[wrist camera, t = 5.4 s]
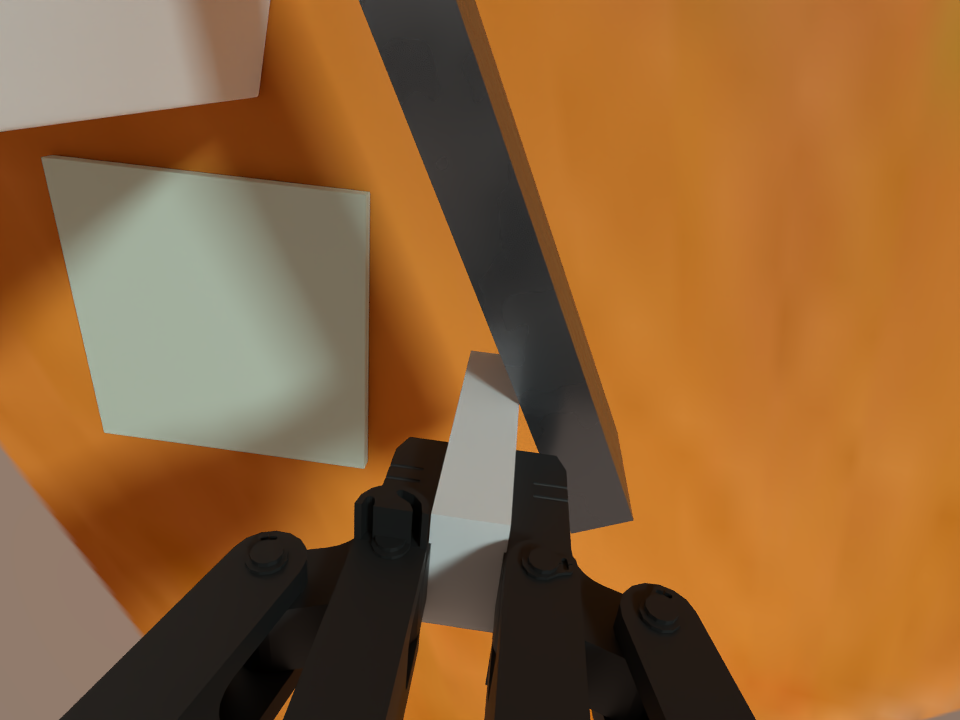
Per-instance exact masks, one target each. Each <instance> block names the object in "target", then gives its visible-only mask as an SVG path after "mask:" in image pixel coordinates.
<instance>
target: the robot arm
mask: <svg viewBox="0 0 960 720" xmlns="http://www.w3.org/2000/svg"><path fill="white" fill-rule="evenodd" d="M518 410H519V401H518V399H517V396H516V394H515V391H514V389H513V386H512V384H511V381H510V379H509V376H508V374H507V371H506V369H505V366H504V364H503V361H502V358H501V356H500V355H499V354H492V353H485V352H477V351H471V353H470V357H469V361H468V365H467V370H466V374H465V378H464V382H463V386H462V390H461V394H460V398H459V402H458V406H457V410H456V415H455V419H454V423H453V427H452V431H451V435H450V439H449V442H443V441H436V440H428V439H421V438H414V437H409V438H408V439H407V440H406V441H405V442H404V443H402V444H401V445H400V446H399V447H398V448H397V449H396V451H395V454H394V456H393V459H392V462H391V466H390V467H389V470H388V472H387V475H386V478H385V480H384V483H383V485H382V486H378V487H374V488H371V489H369V490H368V491H366V492H364V493H363V494H361V495H360V497H359V498H358V499H357V501H356V502H355V510H354V539H352V540H351V541H349V542H346V543H344V544H341V545H338V546H333V547H328V548H319V549H310V550H307V549H306V547H305V545H304V544H303V542H302V541H301V539H299V538H297V537H296V536H294V535H292V534H290V533H285V532H280V531H271V532H261V533H258V534H256V535H253V536H250V537H248V538H246V539H244V540H243V541H242V542H240V543H239V544H237V545H236V546H235V547H234V548H233V549H232V550H231V551H230V552H229V553H228V554H227V555H226V556H225V557H224V558H223V559H222V560H221V561H220V562H219V563H218V564H216V565H215V566H214V567H213V568H212V569H211V570H210V571H209V572H208V573H207V574H206V575H205V576H204V577H203V578H202V579H201V580H200V581H199V582H198V583H197V584H196V585H195V586H194V587H193V588H192V589H191V590H190V591H189V592H188V593H187V594H186V595H185V596H184V597H183V598H182V599H181V600H180V601H179V602H178V603H177V604H176V605H175V606H174V607H173V608H172V609H171V610H170V611H169V612H168V613H167V614H166V615H165V616H164V617H163V618H162V619H161V620H160V621H159V622H158V623H157V624H156V625H155V626H154V627H153V628H152V629H151V630H150V631H149V632H148V633H147V634H146V635H145V636H144V637H143V638H142V639H141V640H140V641H138V642H137V644H135V646H133V647H132V648H131V649H130V650H129V651H128V652H127V653H126V654H125V655H124V656H123V657H122V658H121V659H120V660H119V661H118V662H117V663H116V664H115V665H114V666H113V667H112V668H111V669H110V670H109V671H108V672H107V673H106V674H105V675H104V676H103V677H102V678H101V679H100V680H99V681H98V682H97V683H96V684H95V685H94V686H93V687H92V688H91V689H90V690H89V691H88V692H87V693H86V694H85V695H84V696H83V697H82V698H81V699H80V700H79V701H78V702H77V703H76V704H75V705H74V706H73V707H72V708H71V709H70V710H69V711H68V712H67V713H66V714H65V715H63V717H62V718H60V719H59V720H274V718H275V717H276V715H277V714H278V713H279V711H280V710H281V708H282V707H283V705H284V704H285V702H286V701H287V699H288V698H289V696H290V695H291V693H292V692H293V690H294V689H295V690H294V693H293V695H292V698H291V701H290V703H289V706H288V708H287V711H286V713H285V716H284V718H283V720H403V718H404V713H405V708H406V704H407V699H408V694H409V689H410V685H411V680H412V675H413V671H414V666H415V661H416V657H417V652H418V646H419V634H420V627H421V622H426V623H433V624H440V625H446V626H453V627H459V628H465V629H472V630H479V631H485V632H492V633H493V638H492V640H493V641H492V647H491V653H490V659H489V666H488V672H487V678H486V684H485V685H487V695H486V707H485V719H484V720H590V709H592V715H593V719H594V720H756V719H755V717H754V715H753V714H752V712H751V710H750V708H749V706H748V705H747V703H746V701H745V699H744V697H743V696H742V694H741V692H740V690H739V688H738V687H737V685H736V683H735V681H734V679H733V678H732V676H731V674H730V672H729V670H728V669H727V667H726V665H725V663H724V661H723V660H722V658H721V656H720V654H719V652H718V651H717V649H716V647H715V645H714V643H713V642H712V640H711V638H710V636H709V634H708V633H707V631H706V629H705V627H704V625H703V624H702V622H701V620H700V618H699V616H698V615H697V613H696V611H695V610H694V609H693V607H692V606H691V605H690V604H689V602H688V601H687V600H686V599H684V598H683V597H682V596H680V595H679V594H678V593H676V592H675V591H673V590H671V589H668V588H666V587H663V586H661V585H657V584H648V583H643V584H638V585H634V586H631V587H630V588H629V589H628V590H627V591H625V592H624V593H623V594H622V593H619V592H617V591H614V590H612V589H610V588H607V587H605V586H603V585H601V584H599V583H597V582H595V581H593V580H592V579H591V578H589V577H588V576H587V575H585V574H584V573H583V572H582V570H581V569H580V568H579V567H578V565H577V562H576V560H575V559H574V557H573V556H572V551H571V539H570V522H569V505H568V490H567V471H566V469H565V468H564V466H563V465H562V463H561V462H560V460H559V459H558V457H557V456H554V455H547V454H540V453H533V452H525V451H518V450H516V440H517V425H518ZM422 617H423V618H422ZM589 708H590V709H589Z"/></svg>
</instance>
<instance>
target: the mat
mask: <svg viewBox="0 0 960 720" xmlns="http://www.w3.org/2000/svg"><path fill="white" fill-rule="evenodd" d="M41 159H42V164H43V168H44V172H45V177H46V181H47V185H48V190H49V194H50V198H51V203H52V207H53V212H54V216H55V220H56V225H57V229H58V233H59V238H60V242H61V246H62V251H63V255H64V259H65V264H66V268H67V273H68V277H69V281H70V286H71V290H72V294H73V299H74V303H75V307H76V312H77V316H78V320H79V325H80V329H81V333H82V338H83V342H84V347H85V351H86V355H87V360H88V364H89V368H90V373H91V377H92V381H93V386H94V390H95V394H96V399H97V403H98V408H99V412H100V416H101V421H102V425H103V429H104V433H111V434H119V435H126V436H133V437H140V438H147V439H154V440H162V441H169V442H176V443H183V444H190V445H197V446H205V447H212V448H219V449H226V450H233V451H241V452H248V453H255V454H262V455H269V456H276V457H284V458H291V459H298V460H305V461H312V462H320V463H327V464H334V465H341V466H348V467H355V468H363V469H364V468H365V466H366V464H367V462H368V365H369V252H370V192H366V191H358V190H349V189H340V188H332V187H323V186H315V185H306V184H297V183H289V182H280V181H272V180H263V179H254V178H246V177H237V176H229V175H220V174H211V173H203V172H194V171H186V170H177V169H168V168H160V167H151V166H143V165H134V164H125V163H117V162H108V161H99V160H91V159H82V158H74V157H65V156H56V155H50V156H45V157H41Z"/></svg>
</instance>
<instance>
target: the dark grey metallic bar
mask: <svg viewBox="0 0 960 720" xmlns="http://www.w3.org/2000/svg"><path fill="white" fill-rule="evenodd" d="M359 2H360V5H361V7H362V10H363V12H364V15H365V17H366V20H367V22H368V25H369V27H370V30H371V32H372V35H373V37H374V40H375V42H376V45H377V47H378V50H379V52H380V55H381V57H382V60H383V62H384V65H385V67H386V70H387V72H388V75H389V77H390V80H391V82H392V85H393V87H394V90H395V92H396V95H397V97H398V100H399V103H400V105H401V108H402V110H403V113H404V115H405V118H406V120H407V123H408V125H409V128H410V130H411V133H412V135H413V138H414V140H415V143H416V145H417V148H418V150H419V153H420V155H421V158H422V160H423V163H424V165H425V168H426V170H427V173H428V175H429V178H430V180H431V183H432V185H433V188H434V190H435V193H436V195H437V198H438V200H439V203H440V205H441V208H442V210H443V213H444V215H445V218H446V220H447V223H448V225H449V228H450V230H451V233H452V236H453V238H454V241H455V243H456V246H457V248H458V251H459V253H460V256H461V258H462V261H463V263H464V266H465V268H466V271H467V273H468V276H469V278H470V281H471V283H472V286H473V288H474V291H475V293H476V296H477V298H478V301H479V303H480V306H481V308H482V311H483V313H484V316H485V318H486V321H487V323H488V326H489V328H490V331H491V333H492V336H493V338H494V341H495V343H496V346H497V348H498V351H499V353H500V356H501V358H502V361H503V364H504V366H505V369H506V371H507V374H508V376H509V379H510V381H511V384H512V386H513V389H514V391H515V394H516V396H517V399H518V401H519V404H520V406H521V409H522V411H523V414H524V416H525V419H526V421H527V424H528V426H529V429H530V431H531V434H532V436H533V439H534V441H535V444H536V446H537V449H538V451H539V453H540V454H547V455H554V456H557V457H558V459H559V460H560V462H561V463H562V465H563V466H564V468H565V469H566V471H567V490H568V505H569V522H570V532H571V533H576V532H581V531H586V530H590V529H595V528H600V527H604V526H609V525H614V524H619V523H623V522H628V521H633V516H632V510H631V505H630V499H629V494H628V488H627V483H626V477H625V472H624V466H623V461H622V455H621V450H620V444H619V439H618V433H617V430H616V427H615V424H614V420H613V417H612V414H611V411H610V408H609V405H608V402H607V399H606V396H605V393H604V390H603V387H602V384H601V381H600V378H599V375H598V372H597V369H596V366H595V363H594V360H593V357H592V354H591V351H590V348H589V345H588V342H587V339H586V336H585V333H584V330H583V326H582V323H581V320H580V317H579V314H578V311H577V308H576V305H575V302H574V299H573V296H572V293H571V290H570V287H569V284H568V281H567V278H566V275H565V272H564V269H563V266H562V263H561V260H560V257H559V254H558V251H557V248H556V245H555V242H554V239H553V236H552V232H551V229H550V226H549V223H548V220H547V217H546V214H545V211H544V208H543V205H542V202H541V199H540V196H539V193H538V190H537V187H536V184H535V181H534V178H533V175H532V172H531V169H530V166H529V163H528V160H527V157H526V154H525V151H524V148H523V145H522V142H521V139H520V135H519V132H518V129H517V126H516V123H515V120H514V117H513V114H512V111H511V108H510V105H509V102H508V99H507V96H506V93H505V90H504V87H503V84H502V81H501V78H500V75H499V72H498V69H497V66H496V63H495V60H494V57H493V54H492V51H491V48H490V45H489V41H488V38H487V35H486V32H485V29H484V26H483V23H482V20H481V17H480V14H479V11H478V8H477V5H476V2H475V0H359Z"/></svg>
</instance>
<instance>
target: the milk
mask: <svg viewBox="0 0 960 720" xmlns="http://www.w3.org/2000/svg"><path fill="white" fill-rule="evenodd" d="M269 7H270V0H0V132H3V131H11V130H18V129H25V128H33V127H40V126H47V125H55V124H62V123H70V122H77V121H84V120H92V119H99V118H106V117H114V116H121V115H128V114H136V113H143V112H151V111H158V110H165V109H173V108H180V107H187V106H195V105H202V104H209V103H217V102H224V101H231V100H239V99H246V98H253V97H257V96H258V95H259V89H260V80H261V72H262V64H263V56H264V48H265V40H266V32H267V23H268V15H269Z"/></svg>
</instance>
